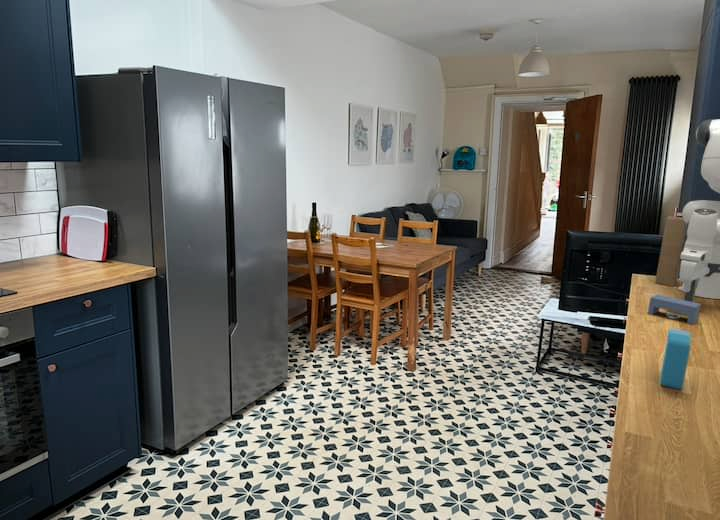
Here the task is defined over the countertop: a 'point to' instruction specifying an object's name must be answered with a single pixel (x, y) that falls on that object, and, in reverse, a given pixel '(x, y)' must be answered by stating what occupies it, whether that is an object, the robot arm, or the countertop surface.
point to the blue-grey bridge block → (675, 307)
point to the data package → (676, 359)
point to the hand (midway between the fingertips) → (690, 289)
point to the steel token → (672, 316)
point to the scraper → (688, 296)
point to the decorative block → (671, 251)
